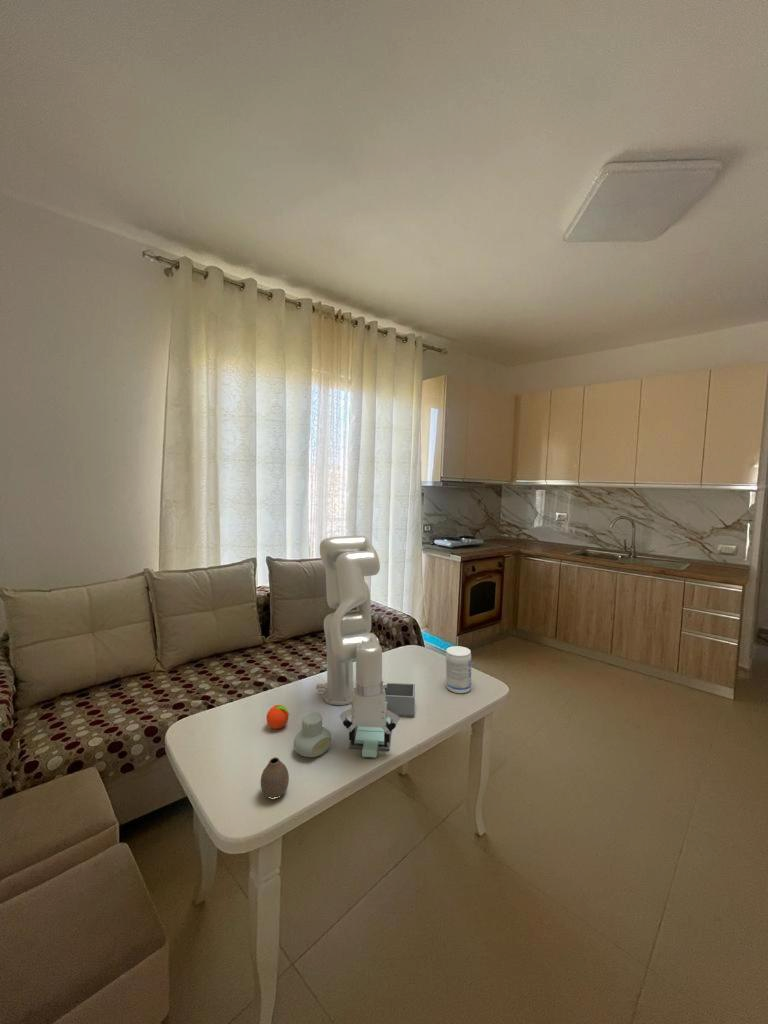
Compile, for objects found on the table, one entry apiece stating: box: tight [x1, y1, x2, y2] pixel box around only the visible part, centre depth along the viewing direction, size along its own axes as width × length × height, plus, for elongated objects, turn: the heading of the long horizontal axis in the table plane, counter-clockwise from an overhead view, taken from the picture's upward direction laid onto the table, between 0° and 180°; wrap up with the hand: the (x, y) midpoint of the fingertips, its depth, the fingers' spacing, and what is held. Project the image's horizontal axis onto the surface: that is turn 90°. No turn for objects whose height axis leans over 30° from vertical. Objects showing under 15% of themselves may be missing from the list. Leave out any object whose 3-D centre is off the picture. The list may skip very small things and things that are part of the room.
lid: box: [355, 717, 391, 758], centre depth 122 cm, size 19×10×2 cm, turn 175°
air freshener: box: [293, 712, 332, 758], centre depth 116 cm, size 11×8×10 cm
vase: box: [260, 757, 290, 798], centre depth 100 cm, size 7×7×9 cm
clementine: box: [266, 704, 291, 730], centre depth 128 cm, size 8×7×7 cm
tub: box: [384, 682, 416, 718], centre depth 138 cm, size 13×9×7 cm
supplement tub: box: [445, 645, 472, 694], centre depth 152 cm, size 10×10×15 cm
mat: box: [348, 719, 393, 752], centre depth 125 cm, size 12×16×1 cm
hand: (369, 743), depth 115 cm, fingers open, 9 cm apart
